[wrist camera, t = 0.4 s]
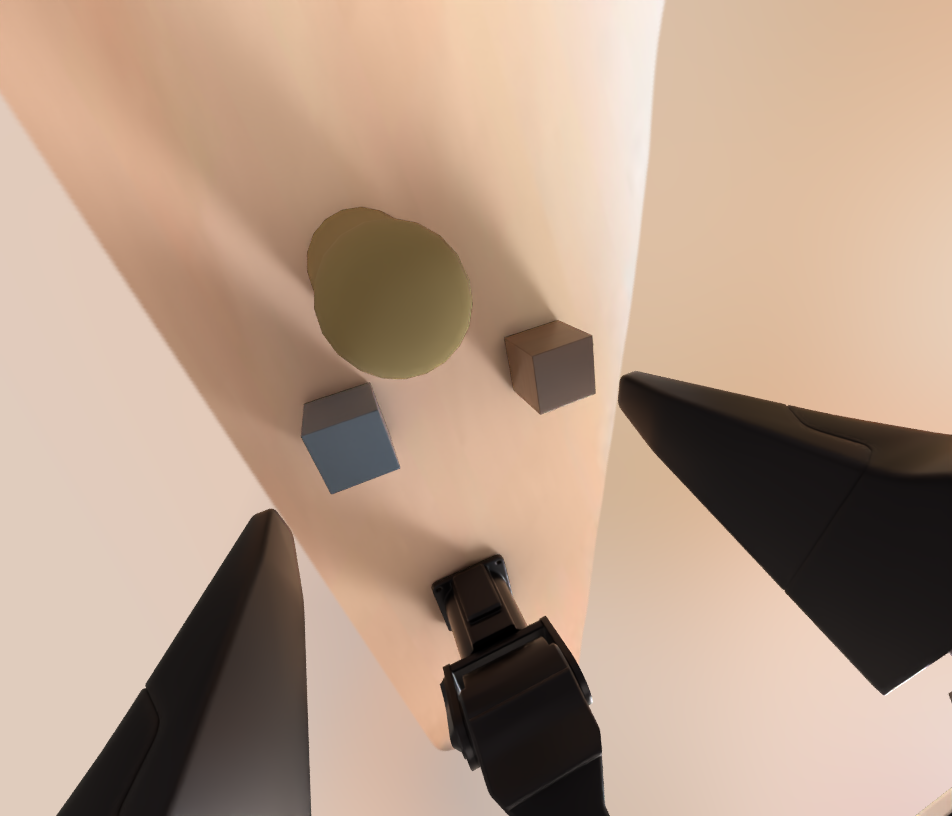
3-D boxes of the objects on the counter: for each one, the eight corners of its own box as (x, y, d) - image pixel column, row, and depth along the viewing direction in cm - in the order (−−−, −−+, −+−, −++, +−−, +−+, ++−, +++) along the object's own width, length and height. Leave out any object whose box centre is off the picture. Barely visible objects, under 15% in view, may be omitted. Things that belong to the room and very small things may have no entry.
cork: (386, 344, 23) (432, 432, 14) (284, 285, 20) (254, 347, 11) (443, 255, 22) (532, 286, 13) (344, 179, 19) (368, 146, 10)
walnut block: (563, 372, 28) (595, 393, 25) (513, 390, 28) (540, 415, 24) (557, 319, 26) (592, 335, 23) (504, 337, 26) (532, 356, 22)
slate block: (390, 435, 26) (400, 468, 22) (329, 457, 25) (331, 495, 22) (369, 381, 24) (377, 409, 20) (303, 403, 23) (300, 436, 20)
